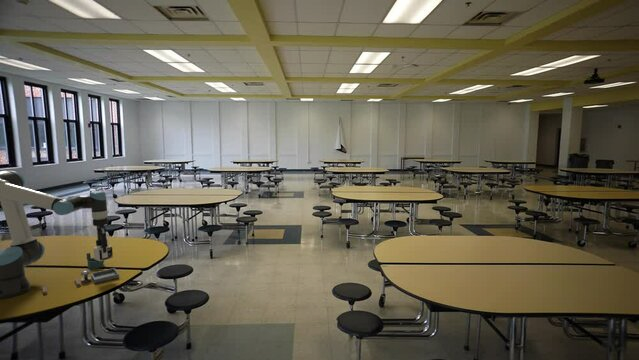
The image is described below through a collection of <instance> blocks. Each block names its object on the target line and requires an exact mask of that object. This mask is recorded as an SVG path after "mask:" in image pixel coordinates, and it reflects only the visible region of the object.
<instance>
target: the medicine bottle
mask: <svg viewBox="0 0 639 360" xmlns="http://www.w3.org/2000/svg"><path fill="white" fill-rule="evenodd" d="M95 245H96V246H95V247H93V258H94V259H95V260H98V261H104V262H105V261H107V260H110V259H113V258H114V255H113V254H114V253H113V246H112V245H109V239H108V238H107V245H108V246H107V253H108V257H107V258H102V251H101V248H100V247H101V239H98V238H97V240H95Z"/></svg>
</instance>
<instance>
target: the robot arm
mask: <svg viewBox="0 0 639 360" xmlns="http://www.w3.org/2000/svg"><path fill="white" fill-rule="evenodd" d="M25 183H26V182H25V178H24V177H23V175H22V174H20V172H17V171H15V170H1V171H0V205H1V208H2V211H3V215H4V217H5V221H6V224H7V227H8V231H9V234H10V237H11V241H12V242H11V243H10V244H9V247H6V248H2V249H0V299H1V300H2V299H8V298H13V297H17V296H21V295H22V294H25V293H27V292H28V291H30V290H31V288H32V286H31V282H30V281H29V279H28V278H27V276H26V273H25V268H26V267H28V266H30V265H32V264H34V263H36V262H37V261H39V260H40V259H41V258H43V256H44V254H45V246H44V244H43V243H42V242H40V241H38V239H37V237H35V236H33V233H32V231H31V228H30V224H29V221H28V218H27V217H28V216H27V214H26V211H25V208H24V204H26V205H31V206H35V207H37V208H42V209H46V210H49V211H53V212H54V213H55V214H56V215H57V216H65V215H66V216H67V215H69V214H71V213H73V212H76V211H79V210H84V209H86V210H87V209H91V218H92V225H93V226H94V227H96V233H97V234H96V235H97V240H98V239H101V247H100V248H101V251H102V258H107V257H108V253H107V246H108V245H107V239H108V238H107V229H106V227H105V226H106V225H108V224H109V217H108V213H109V211H108V205H107V204H108V203H107V195H106V192H105V191H103V190H99V191H97V190H94V191H91V192H90V193H89V195H88V194H87V195H70V196H68V197H67V198H64V197H59V196H56V195H53V194H49V193H46V192H42V191H37V190H34V189H30V188H29V187H28V188H27V187H25V186H24V185H25Z"/></svg>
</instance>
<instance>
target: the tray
mask: <svg viewBox="0 0 639 360" xmlns="http://www.w3.org/2000/svg"><path fill="white" fill-rule="evenodd" d="M90 277H91V281H92V282H93V284H94V285H96V284H101V283H104V282H109V281H113V280H117V279H120V274H119V272H118V271H117V269H116V268H115V267H113V268H110V269H104V270H100V271H95V272H92V273H91V272H90Z"/></svg>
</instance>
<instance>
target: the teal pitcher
mask: <svg viewBox="0 0 639 360" xmlns="http://www.w3.org/2000/svg"><path fill="white" fill-rule="evenodd" d="M85 255H86V261H87V270H98V269H102V268H103V267H104V263H105V260H104V261H98V260H95V259H94V257H92V258H91V253H90V252H87V253H86V254H85Z"/></svg>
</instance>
